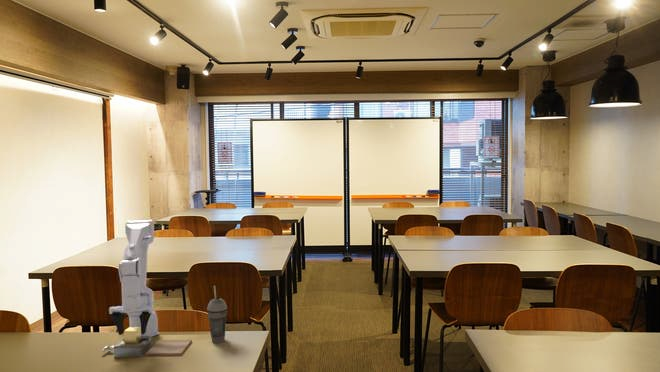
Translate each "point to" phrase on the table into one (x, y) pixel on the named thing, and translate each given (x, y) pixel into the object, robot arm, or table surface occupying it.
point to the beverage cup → (217, 318)
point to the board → (168, 347)
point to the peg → (132, 335)
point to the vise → (130, 348)
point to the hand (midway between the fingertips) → (132, 333)
